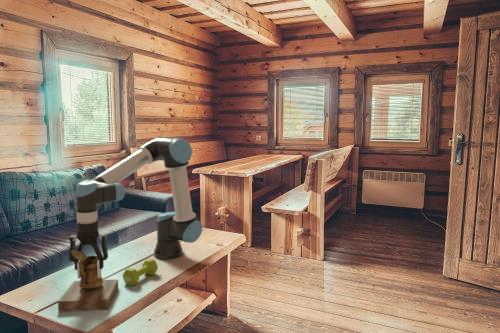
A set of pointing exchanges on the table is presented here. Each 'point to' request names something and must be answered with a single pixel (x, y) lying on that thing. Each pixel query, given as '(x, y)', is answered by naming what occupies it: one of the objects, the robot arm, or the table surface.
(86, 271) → the wooden mug
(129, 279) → the dumbbell
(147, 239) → the table surface
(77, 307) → the walnut stand
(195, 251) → the table surface
